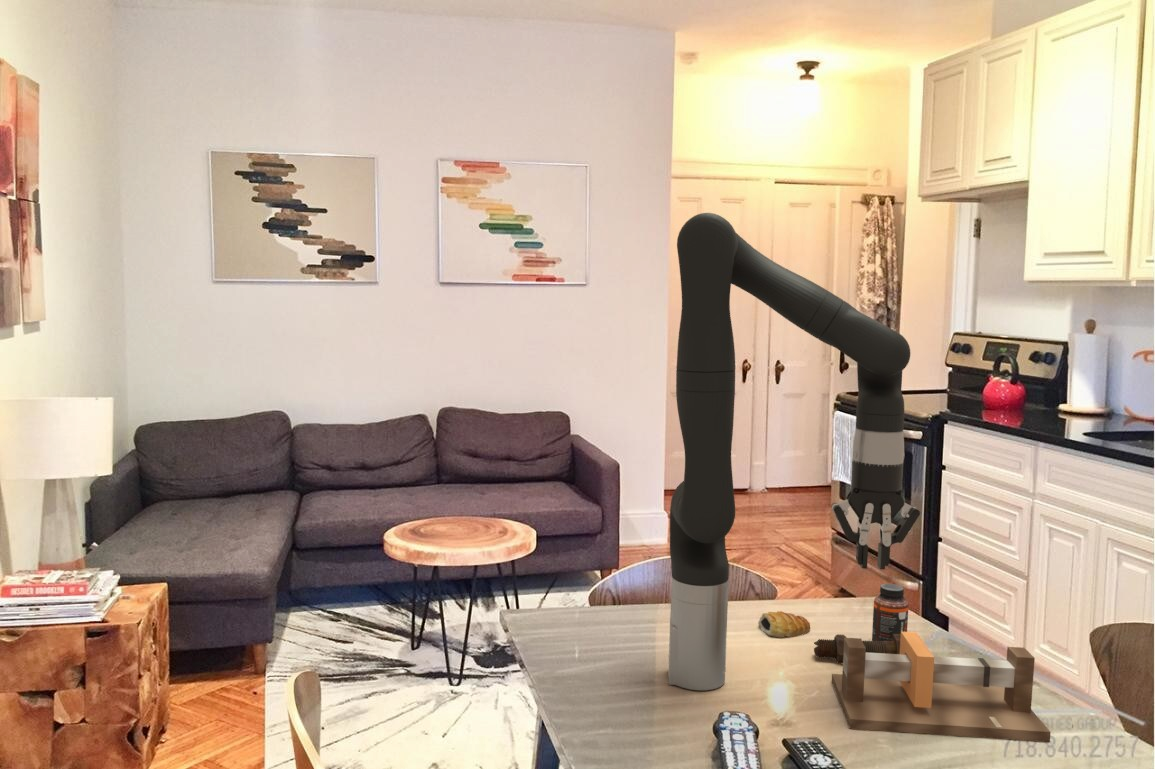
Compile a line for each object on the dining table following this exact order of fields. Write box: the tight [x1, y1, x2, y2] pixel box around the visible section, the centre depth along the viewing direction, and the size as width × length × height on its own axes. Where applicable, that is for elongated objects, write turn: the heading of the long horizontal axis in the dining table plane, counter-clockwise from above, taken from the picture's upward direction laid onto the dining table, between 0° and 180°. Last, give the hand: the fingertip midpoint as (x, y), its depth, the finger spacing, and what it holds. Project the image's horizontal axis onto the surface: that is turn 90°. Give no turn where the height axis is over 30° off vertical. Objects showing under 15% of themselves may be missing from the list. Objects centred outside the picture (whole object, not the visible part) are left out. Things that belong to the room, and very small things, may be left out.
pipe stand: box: [830, 637, 1051, 743], centre depth 140 cm, size 28×16×10 cm, turn 84°
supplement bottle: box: [871, 583, 909, 641], centre depth 164 cm, size 6×6×11 cm
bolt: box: [813, 633, 901, 664], centre depth 158 cm, size 6×5×15 cm
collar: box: [900, 631, 934, 708], centre depth 140 cm, size 2×10×8 cm, turn 174°
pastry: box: [757, 610, 811, 639], centre depth 172 cm, size 9×7×4 cm
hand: (872, 567), depth 142 cm, fingers closed
